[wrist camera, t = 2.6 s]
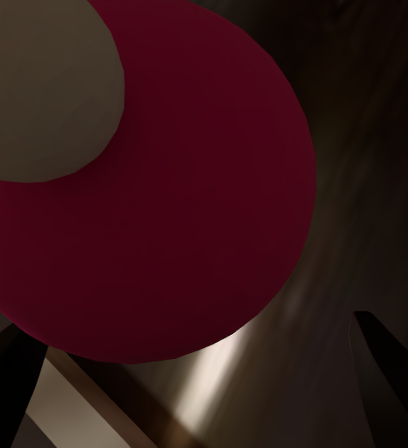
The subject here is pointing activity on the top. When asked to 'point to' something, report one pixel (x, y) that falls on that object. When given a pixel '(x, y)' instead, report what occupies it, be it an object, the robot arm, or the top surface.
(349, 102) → the top surface
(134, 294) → the pepper mill
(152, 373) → the top surface
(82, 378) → the flat beige strip
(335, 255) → the top surface
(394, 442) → the robot arm
